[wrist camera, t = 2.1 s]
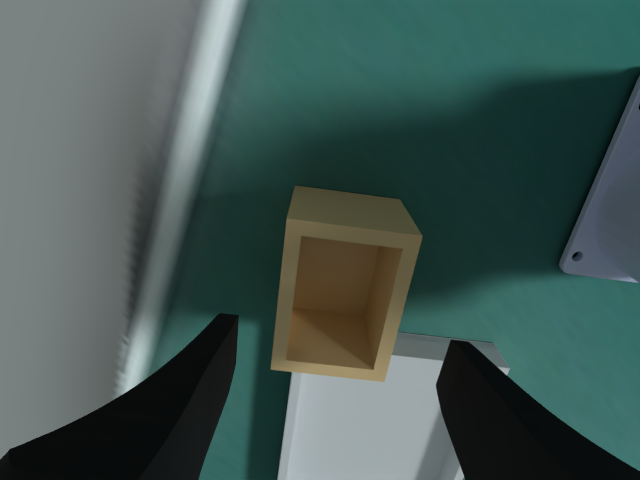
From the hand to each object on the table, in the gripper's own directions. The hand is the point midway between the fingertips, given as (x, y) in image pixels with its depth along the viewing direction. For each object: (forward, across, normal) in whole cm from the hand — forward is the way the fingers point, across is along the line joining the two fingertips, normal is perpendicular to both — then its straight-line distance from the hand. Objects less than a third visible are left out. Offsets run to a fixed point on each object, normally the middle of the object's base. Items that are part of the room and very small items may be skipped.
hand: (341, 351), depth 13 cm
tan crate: (+7, 0, 0) cm, 7 cm away
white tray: (+7, -4, +10) cm, 13 cm away
